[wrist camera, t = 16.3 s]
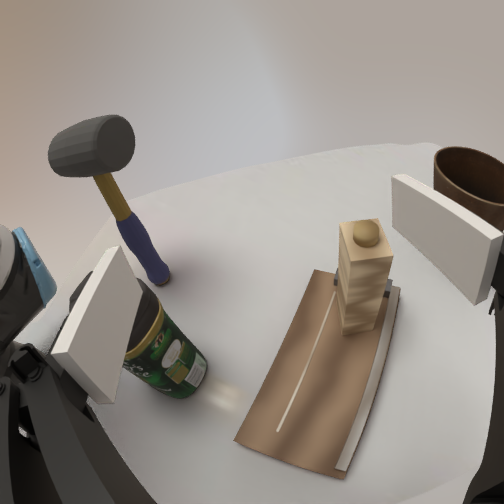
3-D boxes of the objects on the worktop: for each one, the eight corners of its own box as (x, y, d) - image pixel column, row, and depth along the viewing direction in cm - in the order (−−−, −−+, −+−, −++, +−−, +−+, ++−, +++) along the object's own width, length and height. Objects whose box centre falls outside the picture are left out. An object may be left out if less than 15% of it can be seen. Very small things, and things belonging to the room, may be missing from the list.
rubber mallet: (201, 268, 49) (127, 100, 28) (180, 304, 45) (81, 130, 23) (147, 258, 54) (72, 119, 33) (127, 288, 49) (35, 147, 28)
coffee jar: (137, 378, 37) (50, 308, 24) (163, 336, 41) (95, 252, 28) (189, 409, 33) (102, 348, 19) (217, 359, 37) (155, 273, 24)
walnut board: (237, 442, 29) (229, 439, 26) (314, 277, 43) (314, 262, 41) (341, 479, 23) (344, 480, 21) (397, 296, 38) (402, 282, 35)
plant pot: (409, 270, 40) (431, 184, 29) (422, 213, 48) (435, 137, 37) (489, 296, 33) (532, 219, 22) (489, 234, 41) (514, 162, 29)
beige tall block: (341, 335, 34) (351, 251, 23) (336, 302, 37) (339, 213, 27) (372, 330, 33) (395, 246, 22) (364, 298, 37) (378, 208, 26)
